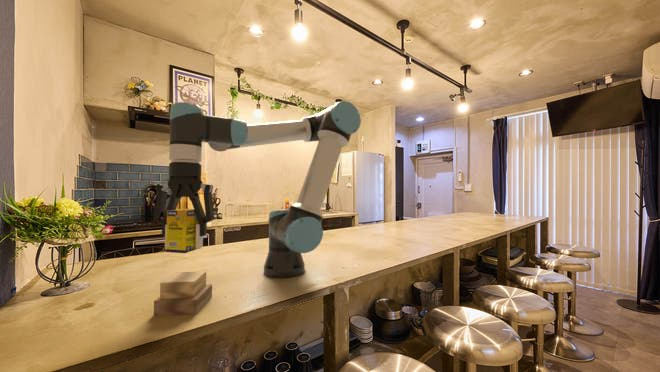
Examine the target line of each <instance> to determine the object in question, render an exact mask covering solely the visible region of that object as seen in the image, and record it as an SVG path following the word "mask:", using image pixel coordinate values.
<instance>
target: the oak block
mask: <svg viewBox="0 0 660 372" xmlns="http://www.w3.org/2000/svg"><path fill="white" fill-rule="evenodd" d="M159 284H160V285H159V286H160V287H159V289H160V290H159V297H160V299H173V298H194V297H195V296H196V295H197V294H198V293H199V292H200V291H201V290H202V289H203V288H204V287H205V286H206V285H207V271H206V270H205V271H203V270H201V271H175V272H174V273H173V274H171V275H169V276H168V277H166V278H165V279H164V280H163V281H161V282H160V283H159Z"/></svg>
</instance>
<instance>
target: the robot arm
mask: <svg viewBox="0 0 660 372" xmlns="http://www.w3.org/2000/svg"><path fill="white" fill-rule="evenodd" d="M169 115H170V116H169V117H170V118H169V150H168V151H169V153H168V154H169V155H168V156H169V157H168V160H169V161H170V162H169V163H168V175H169V179H168V181H167V182H166V183H157V184H156V186H155V188H156V193H157V194H156V201H155V208H154V214H153V215H154V216H153V221H154V222H155V223H160V224H161V235H162V237H164V251H166V236H167V210H177V207H178V205H179V202H180V201H181V199H182V198H189V201H191V204H192V207H193V209H194V210H195V213H196V215H197V218H198V221H199V223H198V224H196V249H197V250H200V248H201V249H203V246H204V236H206V235H207V233H208V232H207V230H208V228H207V227H208V226H207V225H208V223H210V222H212V221H214V220H215V213H214V212H215V211H214V205H213V204H214V203H213V196H212V195H213V194H212V193H213V189H214V186H213V184H206V183H203V181H202V164H201V162H202V148H203V147H202V143H207V144H208V146H209V147H210V149H212V150H213V151H215V152H226V151H228V150H231V149H232V150H233V149H239V148H248V147H256V146H264V145H272V144H280V143H288V142H289V143H290V142H294V141H295V142H296V141H304V143H305V142H306V143H309V142H317V146H316V148H315V151H314V153H313V157H312V160H311V162H310V164H309V167H308V170H307V174H306V176H305V178H304V182H303V184H302V187H301V189H300V192H299V195H298V198H297V200H296V202H295V203H292V204H291V205H289V209H279V210H278V209H275V210H271V211H270V212H269V214H268V253H267V256H266V259H265V262H264V264H263V274H264V275H265V276H267V277H271V278H278V279H279V278H281V279H282V278H284V279H285V278H292V277H296V276H299V275H300V276H301V275H302V274H303V273H304V272H305V261H304V258H303V255H302V254H308V253H310V252H312V251H314V250H315V249H317V248H318V247H319V245H320V244H321V242H322V239H323V237H324V230H323V229H324V228H323V227H322V226H323V225H322V222H323V219H324V218H323V217H324V215H323V213H322V208H323V205H324V202H325V198H326V195H327V193H328V190H329V186H330V184H331V181H332V178H333V177H334V176H333V175H334V172H335V170H336V167H337V164H338V160H339V158H340V155H341V154H342V149H343V148H345V147H347V146H348V145H349V142H350V139H351V137H352V134H355V133H356V132H358V131H359V129H360V126H361V122H362V120H361V119H362V118H361V114H360V113H359V110H358V109H357V107H356V106H355V105H354V103H351V102H349V101H346V100H340V101H337V102H334V103H333V104H332V105H331V106H328V107H327V108H326V109H324V110H322V111H319V112H318V113H315V114H313V115H309V116H304V117H302V118H300V120H287V121H277V122H276V121H274V122H263V123H252V124H247V121H246V120H241V119H238V118H234V117H233V118H230V117H225V116H224V117H223V116H217V115H209V114H204V112H203V108H202V107H201V106H199V104H194V103H191V102H186V101H184V102H183V101H182V102H181V101H179V102H178V101H177V102H174V103H173V104H172V105H171V106H170V114H169ZM201 189H202V192H203V201H204V202H203V203H204V207H203V204H202V202H201V198H200V195H199V191H200V190H201ZM169 190H170V191H171V194H170V197H169V201H168V204H167V200H168V191H169Z"/></svg>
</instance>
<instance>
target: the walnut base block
mask: <svg viewBox="0 0 660 372" xmlns="http://www.w3.org/2000/svg"><path fill="white" fill-rule="evenodd" d="M212 298H213V284H211V283H210V284H206V286H205V287H204V288H203V289H202V290H201V291H200V292H199V293H198V294H197V295H196V296H195V297H194V298H173V299H160V296H159V297H157V298H156V299H155V300H154V301H153V317H157V316H158V317H160V316H185V315H186V316H187V315H190V316H192V315H197V314H199V312H200V311H201V310H202V309H203V308H204V307H205V305H206V304H208V302H210V300H212Z"/></svg>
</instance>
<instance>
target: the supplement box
mask: <svg viewBox="0 0 660 372" xmlns="http://www.w3.org/2000/svg"><path fill="white" fill-rule="evenodd" d="M198 223H199V221H198V218H197V215H196V213H195V210H194V208H180V209H176V210H167V236H166V250H165V253H174V254H188V253H191V252H193V251H196V250H198V249H196V224H198ZM200 249H202V248H200ZM200 249H199V250H200Z"/></svg>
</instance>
